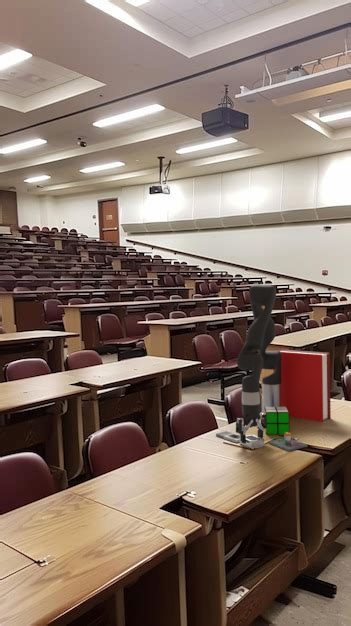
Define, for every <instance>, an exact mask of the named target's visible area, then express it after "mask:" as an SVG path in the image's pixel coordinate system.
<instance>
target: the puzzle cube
mask: <svg viewBox="0 0 351 626" xmlns="http://www.w3.org/2000/svg"><path fill="white" fill-rule="evenodd" d="M264 414H266V418H267V428H265V429H264V431H265V434H266V435H280V436H281V435H283V436H285V432H290V416H289V412H288V410H287V408H286V407H264Z"/></svg>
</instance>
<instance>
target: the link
mask: <svg viewBox="0 0 351 626" xmlns="http://www.w3.org/2000/svg"><path fill="white" fill-rule="evenodd" d="M245 435H246V443H245V444H243V443H242V442H241V441H240V442H239V445H241V444H242V445H241V446H243V445H244V447H245V448H248V447H249V448H248V449H250V448H251V450H255V449H258V448H259V449H260V448H264V447H265V438H264V437H263V438H260V437H258V435H255V434H253V433H252V434H245ZM263 446H264V447H263ZM254 448H255V449H254Z"/></svg>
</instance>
